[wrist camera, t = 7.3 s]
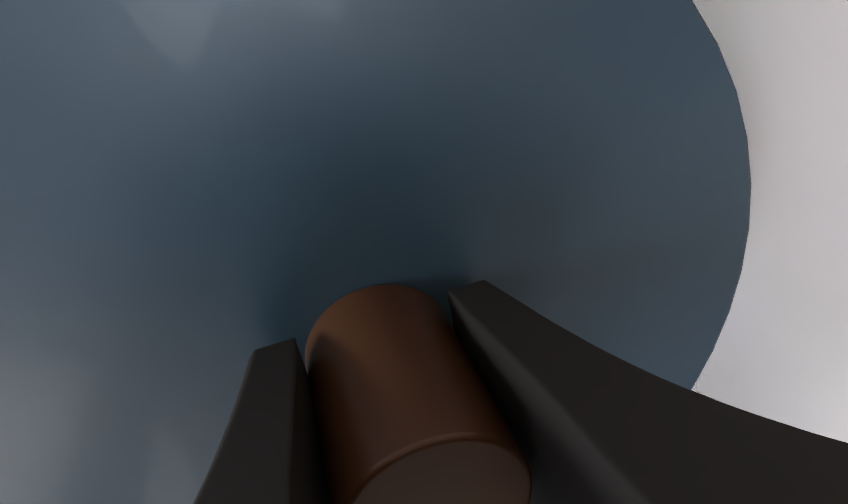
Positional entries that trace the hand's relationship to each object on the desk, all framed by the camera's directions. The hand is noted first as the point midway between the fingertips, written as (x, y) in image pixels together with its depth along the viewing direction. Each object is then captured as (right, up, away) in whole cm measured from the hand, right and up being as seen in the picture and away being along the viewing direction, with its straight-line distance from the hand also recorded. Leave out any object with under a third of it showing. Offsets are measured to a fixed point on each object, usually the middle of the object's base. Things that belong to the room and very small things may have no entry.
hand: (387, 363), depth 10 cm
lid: (0, 0, +1) cm, 1 cm away
